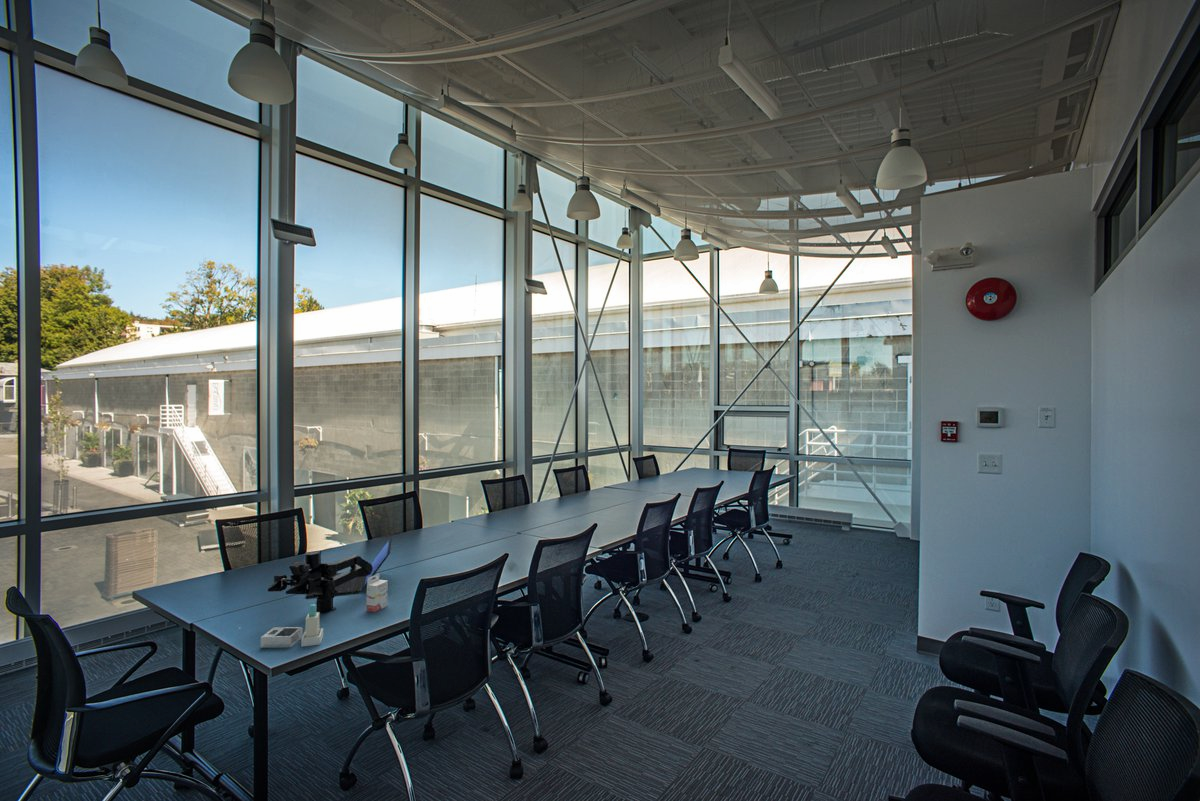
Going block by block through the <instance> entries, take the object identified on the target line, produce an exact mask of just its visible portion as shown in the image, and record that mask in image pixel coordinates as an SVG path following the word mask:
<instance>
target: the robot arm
mask: <svg viewBox="0 0 1200 801" xmlns="http://www.w3.org/2000/svg"><path fill="white" fill-rule="evenodd" d="M321 555H322V551H321V550H314V551H313V550H312V551H306V552H305V553H304V562H302V561H294V562H293V563H292V564H290V565H289V570H290V572H291V574H290V578H288V576H287V575H286V574H282V573H281V574H279V573H278V574H276V575H275V574H274V576H273V583H272V584H271V586H269V587H268V588H267V592H270V593H271V592H282V591H284V590H286V589H287V587H288V586H290V588H288V589H287V590H286V591H285V594H286V595H305V596H306V594H311V593H312V594H313V597H314V598H316V602H315V604H316V612H319V614H328V613H330V612H332V611H334V610H336V607H334V598H335V597H337V596H338V595H337V590H336V589H335V588H336V587H337V586H340V585H342V584H344V583H346V582H348V581H350V580H352V579H354V578H356V577H363V578H364V576H368V575H370V574H371V572H372V570H373V567H372V565H371V563H372V562H371V563H370V562H368V561H367V560H365V559H363V558H362V557H361V556H360V555H357V554H352V555H349V556H346V557H344V558H340V559H339V560H336V561H333V562H322V558H321ZM347 568H349V569H348V570H346V571H344V572H340V571H342V570H345V569H347ZM339 572H340V573H341V574H339V575H337V576H335V577H332V576H334V575H335V574H336V573H339ZM331 577H332V578H331Z"/></svg>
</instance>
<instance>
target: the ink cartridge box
mask: <svg viewBox="0 0 1200 801" xmlns="http://www.w3.org/2000/svg"><path fill="white" fill-rule="evenodd" d="M380 574H381V573H377V574H376V573H375V574H374V576H371V577H369V578H368V580H367V585H366V612H371V613H376V612H379V611H380V610H382V609H384V608H386V607H387V606H388V584H389V582H388V579H387V580H385V579H380Z"/></svg>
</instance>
